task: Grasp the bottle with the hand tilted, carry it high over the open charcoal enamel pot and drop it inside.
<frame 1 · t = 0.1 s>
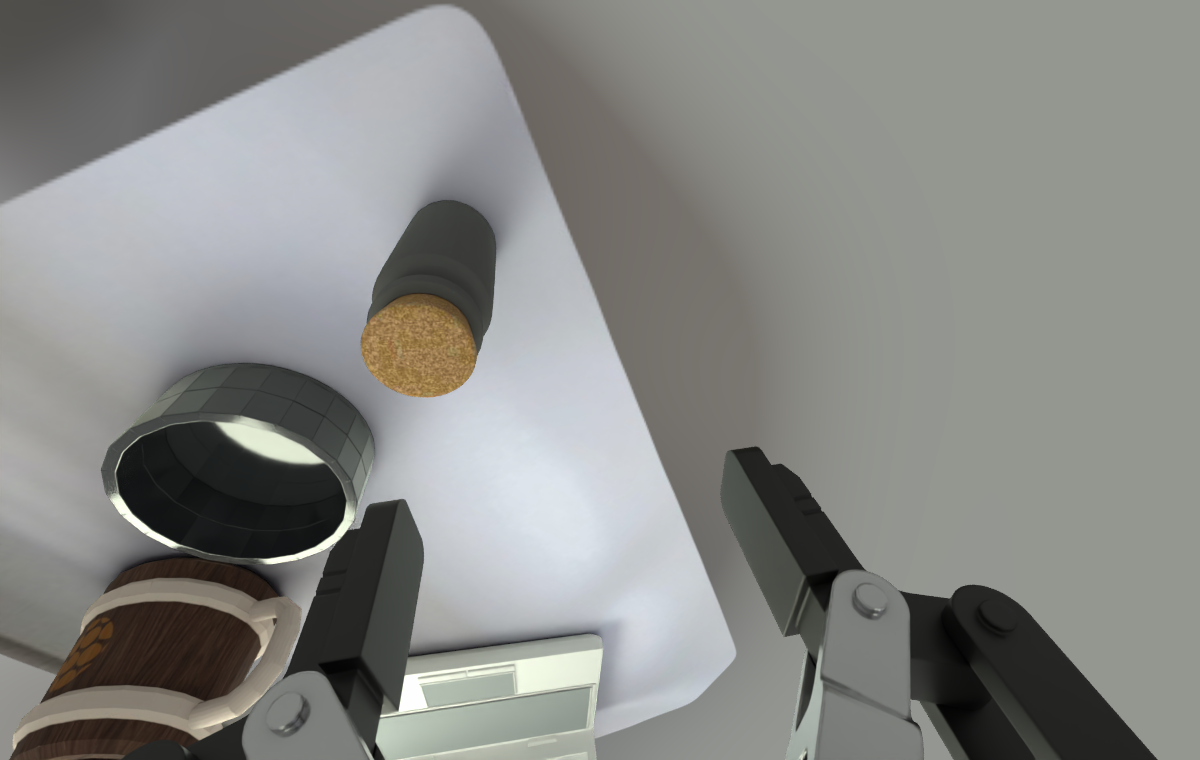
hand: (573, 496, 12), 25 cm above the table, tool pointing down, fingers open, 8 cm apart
pot: (272, 442, 39), on the table
bottle: (453, 242, 33), on the table
laptop: (476, 691, 68), on the table
mug: (226, 589, 48), on the table
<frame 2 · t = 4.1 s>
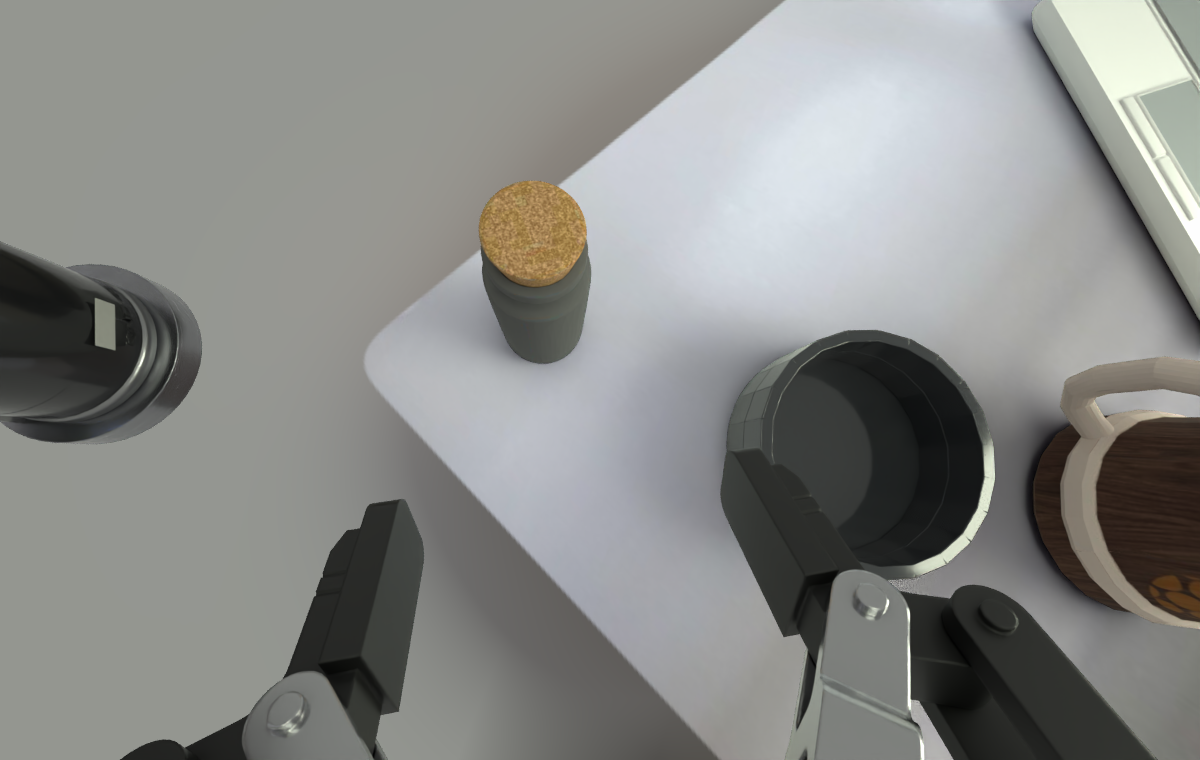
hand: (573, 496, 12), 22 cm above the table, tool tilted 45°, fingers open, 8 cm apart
pot: (826, 451, 36), on the table
bottle: (543, 327, 35), on the table
mug: (1086, 484, 37), on the table
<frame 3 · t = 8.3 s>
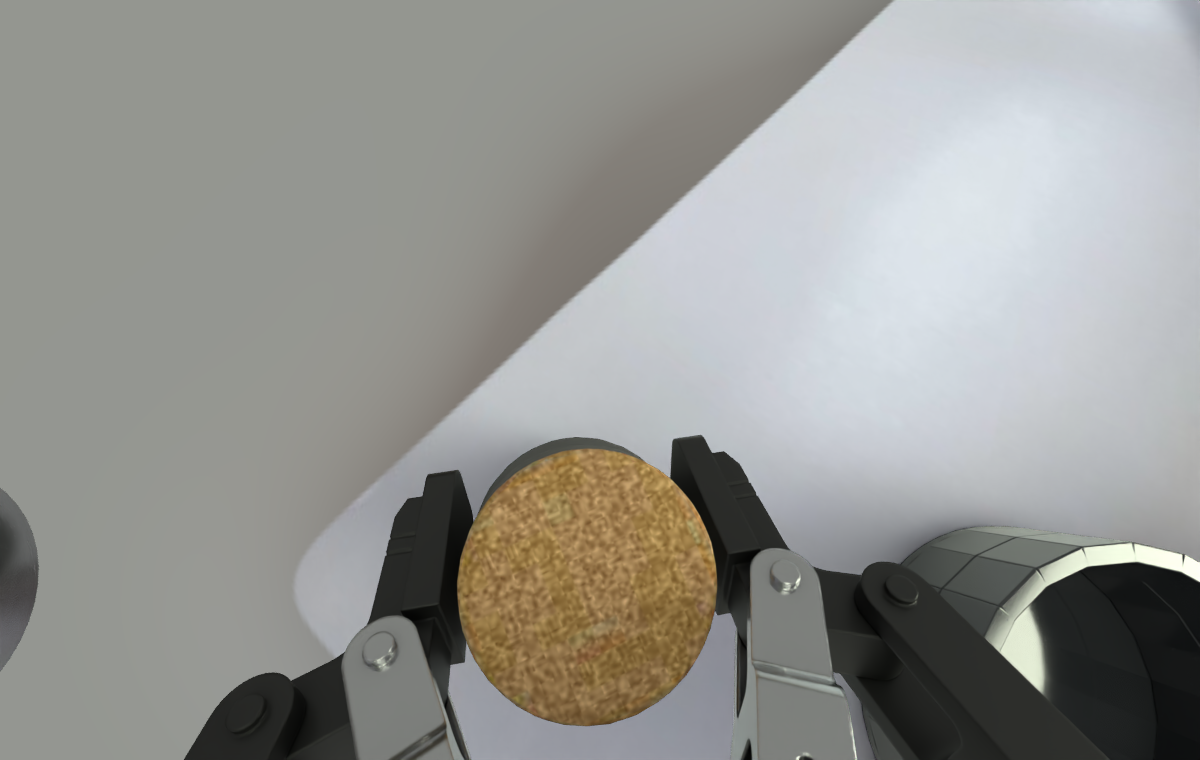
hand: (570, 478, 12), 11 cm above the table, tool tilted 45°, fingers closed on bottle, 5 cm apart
pot: (1010, 690, 23), on the table
bottle: (570, 511, 23), on the table, touching gripper
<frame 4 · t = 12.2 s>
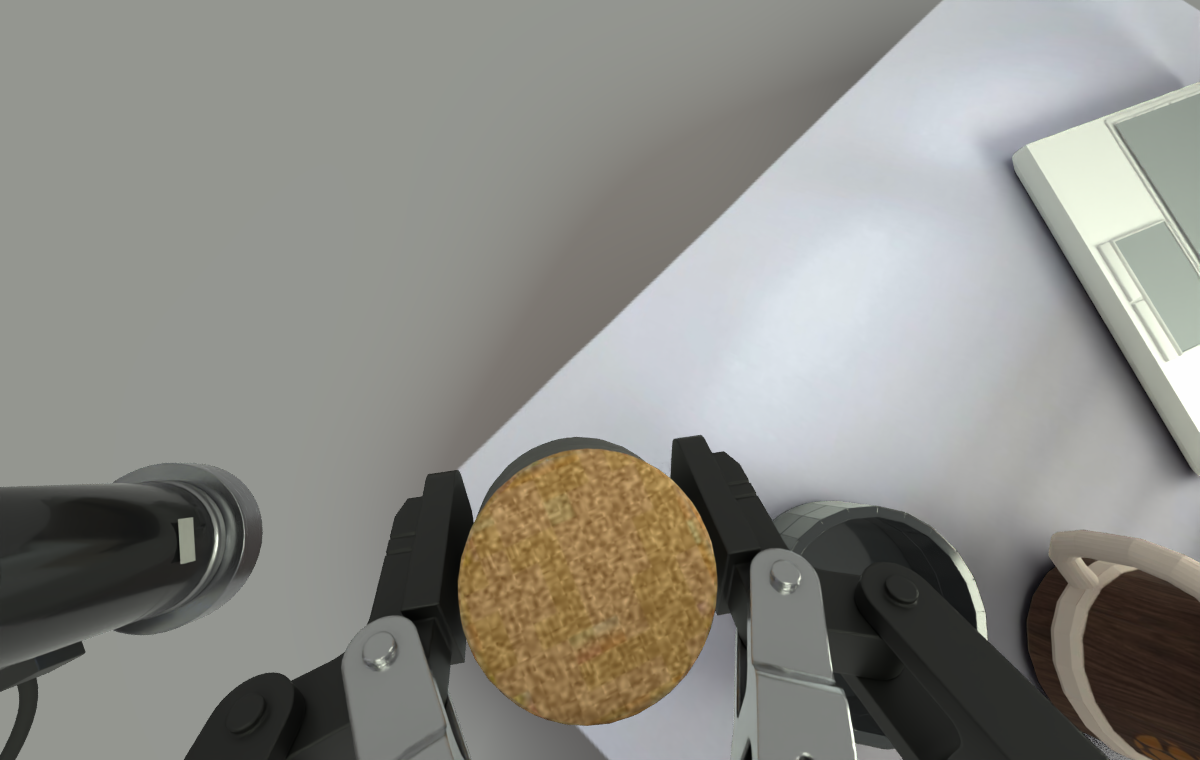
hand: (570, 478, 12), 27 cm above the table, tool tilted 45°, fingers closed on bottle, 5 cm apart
pot: (833, 598, 39), on the table
bottle: (570, 510, 23), point 16 cm above the table, touching gripper
laptop: (1191, 271, 47), on the table
mug: (1076, 617, 40), on the table
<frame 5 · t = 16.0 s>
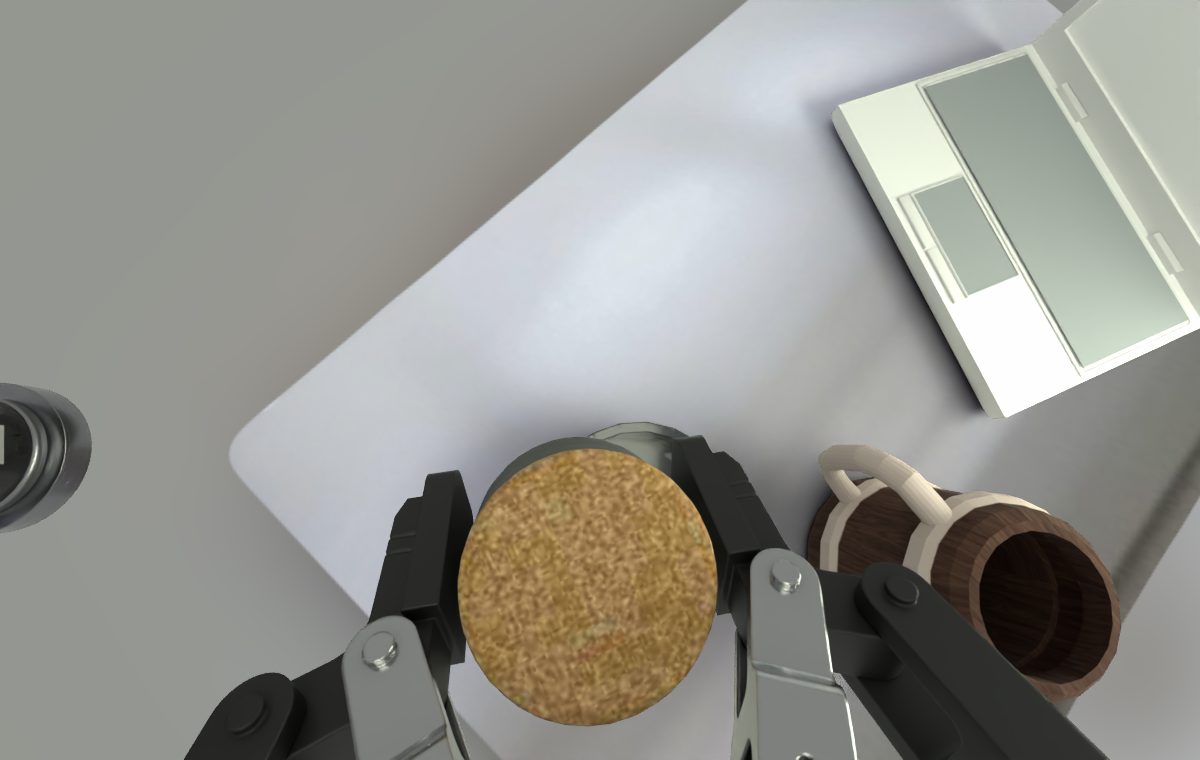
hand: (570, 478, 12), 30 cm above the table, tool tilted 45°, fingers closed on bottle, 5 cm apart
pot: (630, 516, 42), on the table
bottle: (569, 510, 23), point 19 cm above the table, touching gripper
laptop: (998, 226, 51), on the table
mug: (860, 536, 43), on the table
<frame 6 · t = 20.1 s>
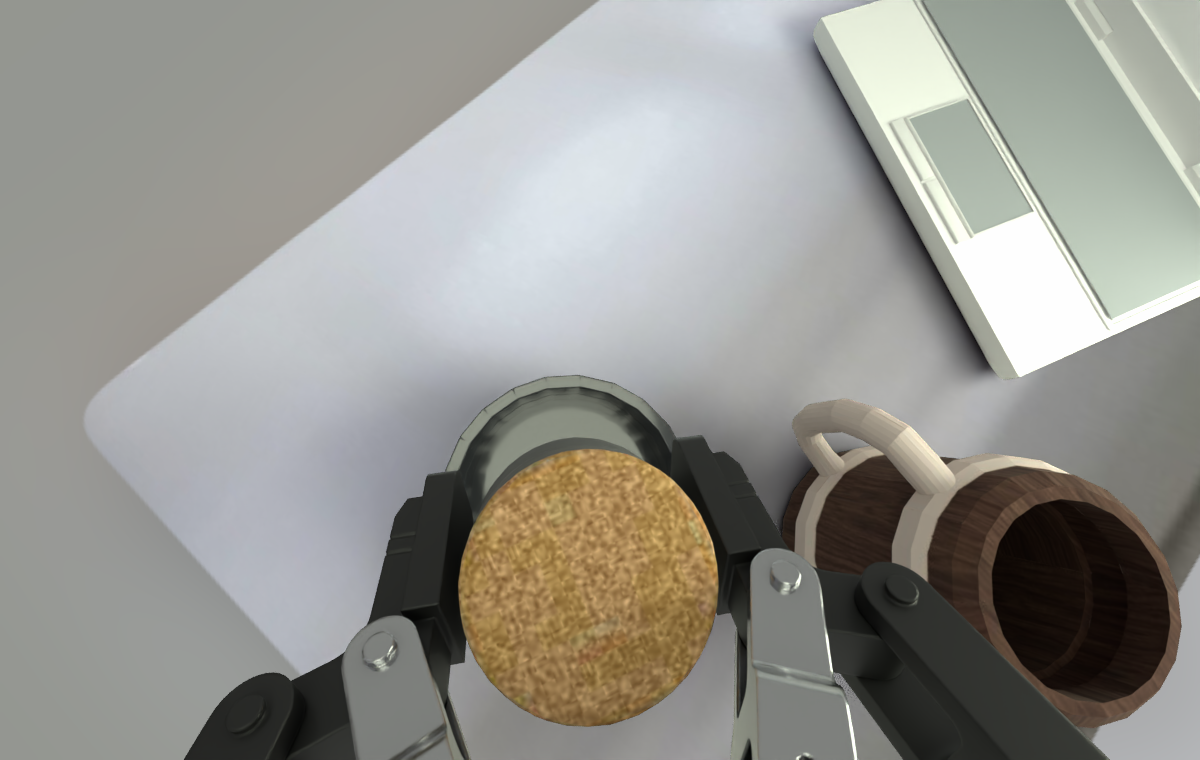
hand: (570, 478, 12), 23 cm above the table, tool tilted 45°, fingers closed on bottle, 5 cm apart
pot: (568, 494, 35), on the table
bottle: (569, 511, 23), point 12 cm above the table, touching gripper
laptop: (1008, 161, 44), on the table
mug: (846, 518, 36), on the table
when the fingers open (14 cm above the table, at t = 23.7 s): bottle drops 2 cm, resting on pot.
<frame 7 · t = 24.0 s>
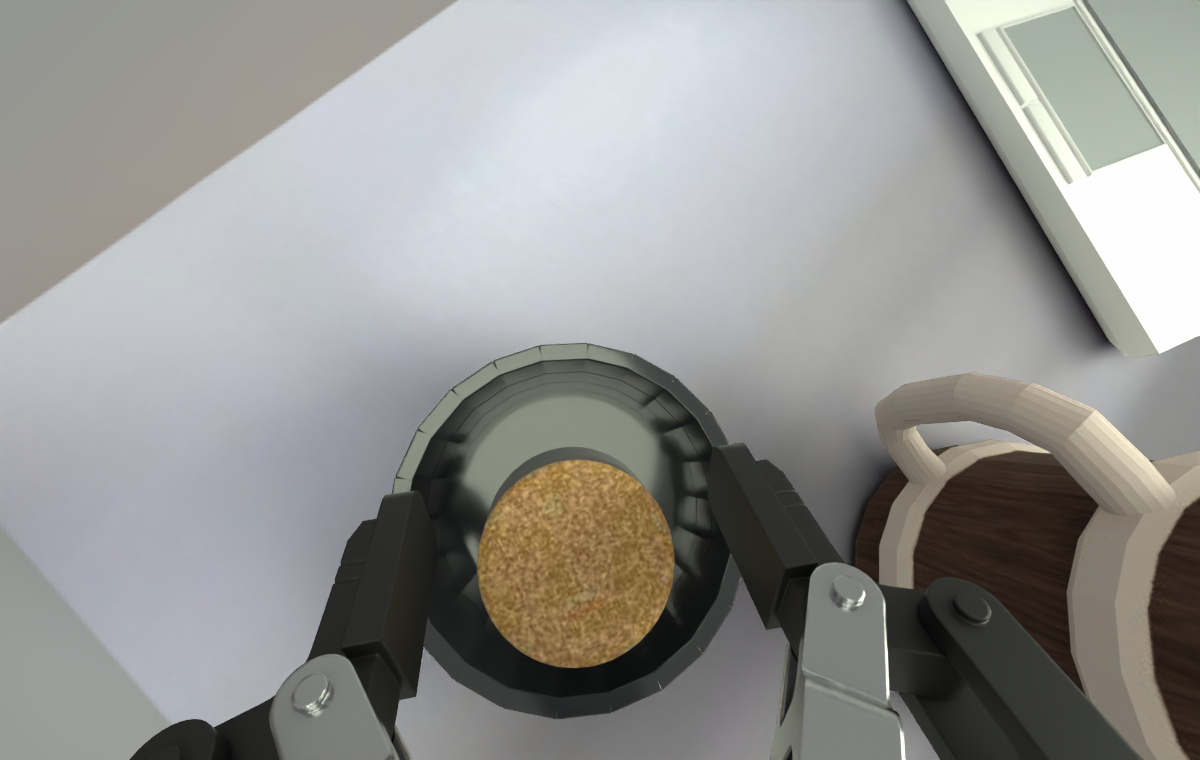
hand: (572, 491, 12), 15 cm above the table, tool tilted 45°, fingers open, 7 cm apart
pot: (570, 506, 26), on the table
bottle: (568, 509, 26), resting on pot
laptop: (1116, 91, 35), on the table
mug: (935, 538, 28), on the table
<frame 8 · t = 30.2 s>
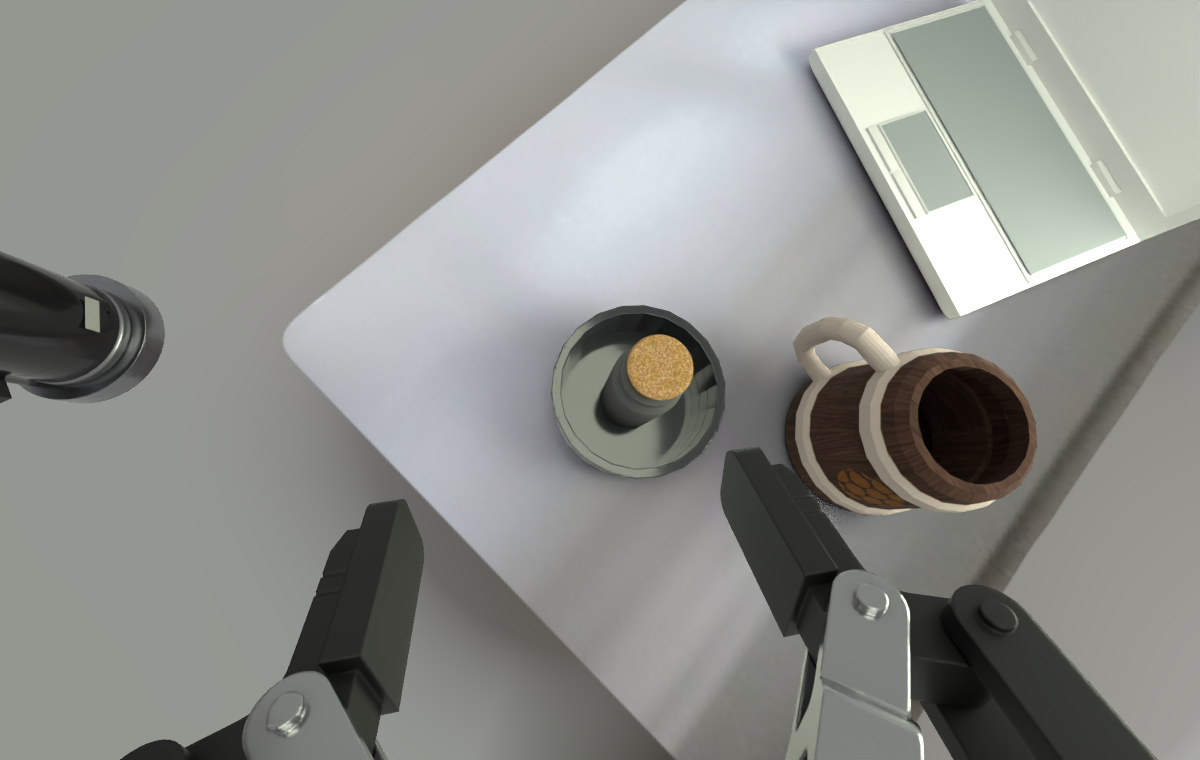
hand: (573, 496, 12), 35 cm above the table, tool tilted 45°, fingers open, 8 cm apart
pot: (630, 398, 48), on the table
bottle: (629, 399, 47), resting on pot
laptop: (959, 158, 57), on the table
mug: (833, 420, 49), on the table
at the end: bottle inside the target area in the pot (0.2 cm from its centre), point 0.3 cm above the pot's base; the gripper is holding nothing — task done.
